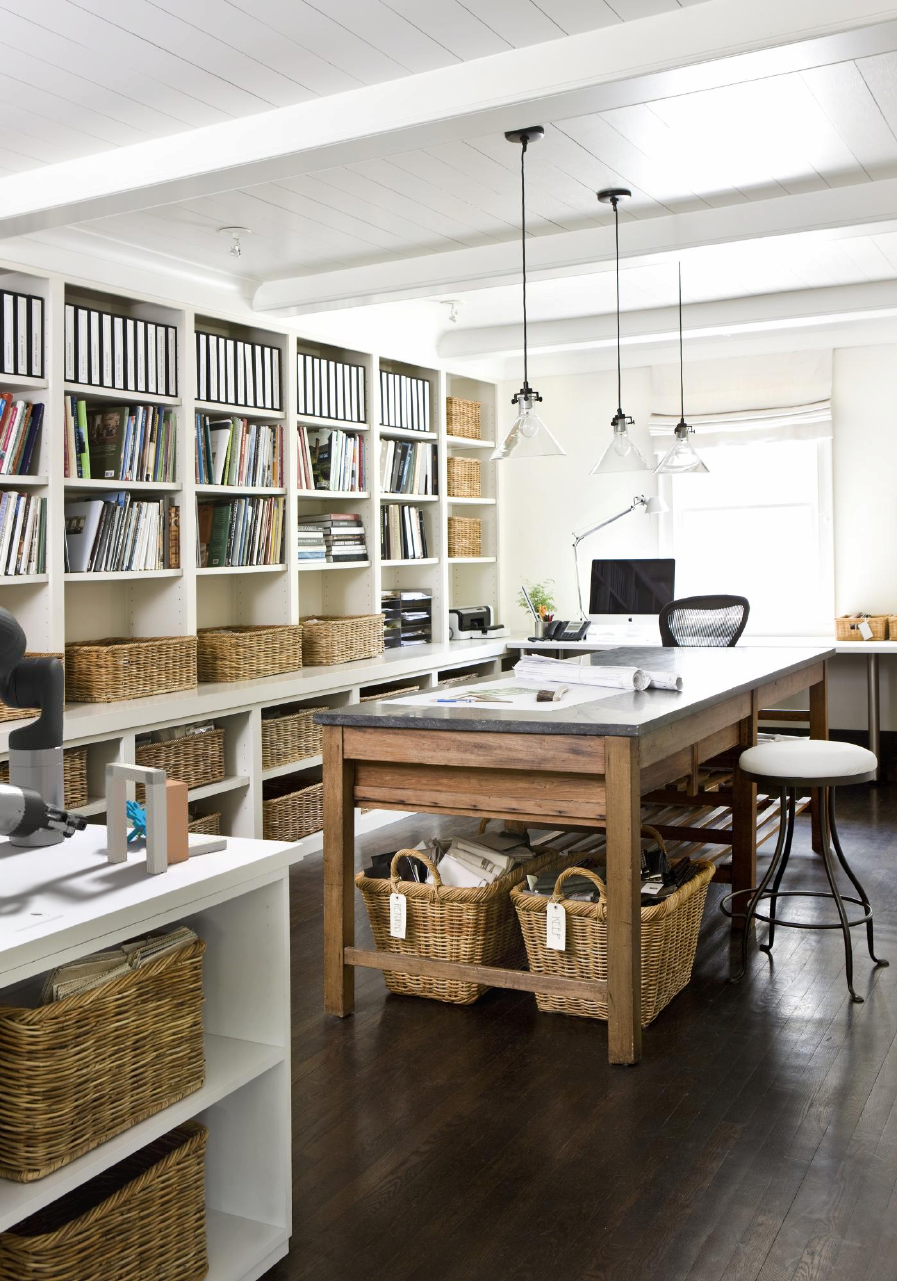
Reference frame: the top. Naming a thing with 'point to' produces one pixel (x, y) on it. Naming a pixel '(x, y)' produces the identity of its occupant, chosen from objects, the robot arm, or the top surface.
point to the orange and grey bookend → (182, 826)
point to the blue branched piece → (136, 819)
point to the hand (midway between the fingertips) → (83, 823)
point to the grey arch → (154, 813)
